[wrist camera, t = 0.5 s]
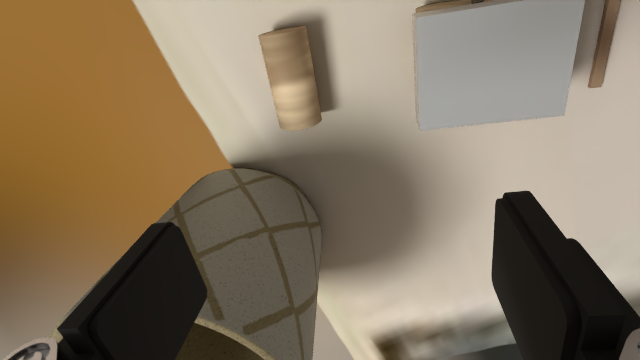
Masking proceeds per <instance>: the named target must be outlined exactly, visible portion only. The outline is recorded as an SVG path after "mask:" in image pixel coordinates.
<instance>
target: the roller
mask: <svg viewBox="0 0 640 360" xmlns="http://www.w3.org/2000/svg"><path fill="white" fill-rule="evenodd" d="M259 40H260V44H261V48H262V52H263V57H264V61H265V65H266V69H267V74H268V78H269V82H270V86H271V91H272V95H273V99H274V104H275V108H276V112H277V116H278V121H279V125H280V128H282V129H284V130H301V129H306V128H309V127H312V126H314V125H316V124H318V123H319V122H320V121H321V120H322V117H321V111H320V105H319V99H318V93H317V88H316V82H315V76H314V70H313V64H312V58H311V53H310V47H309V41H308V35H307V29H306V27H305V26H298V27H291V28H285V29H279V30H274V31H270V32H267V33H264V34H261V35H259Z"/></svg>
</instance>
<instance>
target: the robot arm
mask: <svg viewBox="0 0 640 360" xmlns="http://www.w3.org/2000/svg"><path fill="white" fill-rule="evenodd" d="M492 282H493V286H494V289H495V292H496V294H497V297H498V299H499V301H500V304H501V306H502V309H503V311H504V314H505V316H506V319H507V321H508V323H509V326H510V328H511V331H512V333H513V336H514V338H515V340H516V343H517V345H518V348H519V350H520V353H521V355H522V357H523V360H640V317H639V316H638V314H637V313H636V312H635V311H634V310H633V308H632V307H631V306H630V305H629V303H628V302H627V301H626V300H625V298H624V297H623V296H622V295H621V294H620V292H619V291H618V290H617V289H616V287H615V286H614V285H613V284H612V282H611V281H610V280H609V279H608V278H607V276H606V275H605V274H604V273H603V271H602V270H601V269H600V268H599V266H598V265H597V264H596V263H595V262H594V260H593V259H592V258H591V257H590V255H589V254H588V253H587V252H586V250H585V249H584V248H583V247H582V246H581V244H580V243H579V242H578V241H577V240H575V239H572V238H569V239H567V238H566V237H565V236H564V235H563V233H562V232H561V231H560V229H559V228H558V227H557V226H556V224H555V223H554V222H553V220H552V219H551V218H550V217H549V215H548V214H547V213H546V211H545V210H544V209H543V208H542V206H541V205H540V204H539V202H538V201H537V200H536V199H535V197H534V196H533V195H532V193H531V192H530V191H519V192H508V193H504V195H503V198H501V199H497V200H496V205H495V223H494V241H493V259H492ZM206 298H207V287H206V285H205V283H204V280H203V278H202V276H201V274H200V271H199V269H198V267H197V265H196V262H195V260H194V258H193V256H192V253H191V251H190V249H189V246H188V244H187V242H186V240H185V237H184V235H183V233H182V231H181V229H180V227H178V226H176V225H175V224H174V223H173V222H163V223H154V224H152V225H151V226H150V227H149V228H148V229H147V230H146V231H145V232H144V234H142V236H141V237H140V238H139V239H138V240H137V241H136V242H135V243H134V244H133V245H132V246H131V248H130V249H129V250H128V251H127V252H126V253H125V254H124V255H123V256H122V257H121V259H120V260H119V261H118V262H117V263H116V264H115V265H114V266H113V267H112V268H111V270H110V271H109V272H108V273H107V274H106V275H105V276H104V277H103V278H102V279H101V281H100V282H99V283H98V284H97V285H96V286H95V287H94V288H93V289H92V290H91V292H90V293H89V294H88V295H87V296H86V297H85V298H84V299H83V300H82V302H81V303H80V304H79V305H78V306H77V307H76V308H75V309H74V310H73V311H72V313H71V314H70V315H69V316H68V317H67V318H66V319H65V320H64V321H63V322H62V324H61V325H60V326H59V327H58V328H57V330H58V331H59V333H60V334H61V335H62V337H63V339H62V340H61V341H60V342H59V343H58V342H57V341H56V340H54V339H53V338H40V339H36V340H34V341H31V342H29V343H26V344H25V345H23V346H21V347H19V348H18V349H16V350H15V351H13V352H12V353H10V354H9V355H8V356H7V357H5V358H4V359H3V360H175V359H176V357H177V355H178V353H179V351H180V349H181V347H182V345H183V343H184V341H185V339H186V338H187V336H188V334H189V332H190V330H191V328H192V326H193V324H194V322H195V320H196V318H197V316H198V314H199V312H200V311H201V309H202V307H203V305H204V303H205V301H206Z"/></svg>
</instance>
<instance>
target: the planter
mask: <svg viewBox="0 0 640 360" xmlns="http://www.w3.org/2000/svg"><path fill="white" fill-rule="evenodd" d="M163 222H173V223H174V224H175V225H176V226H178V227H180V229H181V231H182V233H183V235H184V237H185V240H186V242H187V244H188V246H189V249H190V251H191V253H192V256H193V258H194V260H195V262H196V265H197V267H198V269H199V271H200V274H201V276H202V278H203V280H204V283H205V285H206V287H207V298H206V301H205V303H204V305H203V307H202V309H201V311H200V312H199V314H198V316H197V318H196V320H195V322H194V324H193V326H192V328H191V330H190V332H189V334H188V336H187V338H186V339H185V341H184V343H183V345H182V347H181V349H180V351H179V353H178V355H177V357H176V359H175V360H312V356H313V343H314V332H315V331H314V330H315V318H316V305H317V292H318V280H319V268H320V257H321V247H322V233H321V227H320V223H319V220H318V217H317V215H316V213H315V211H314V210H313V208H312V206H311V205H310V204H309V202H308V201H307V199H306V198H305V197H304V195H303V194H302V192H301V190H300V189H299V187H298V186H297V185H296V184H294V183H293V182H291V181H290V180H288V179H285V178H283V177H281V176H278V175H275V174H271V173H268V172H263V171H258V170H252V169H237V168H236V169H226V170H221V171H217V172H214V173H211V174H209V175H206V176H205V177H203V178H201V179H200V180H198V181H197V182H196V183H195V184H194V185H192V186H191V187H190V189H188V190H187V191H186V193H184V194H183V195H182V196H181V198H180V199H179V200H178V201H177V202H176V203H175V204H174V205H173V206H172V207H171V208H170V209H169V210H168V211H167V212H166V213H165V214H164V215H163V216H162V217H161V218H160V219H159V220H158V221H157V222H156V223H163ZM120 259H121V258H120ZM120 259H119V260H120ZM119 260H118V261H119ZM118 261H117V262H118ZM117 262H116V263H117ZM116 263H115V264H116ZM115 264H114V265H115ZM114 265H113V266H114ZM113 266H112V267H113ZM112 267H111V268H112ZM111 268H110V269H109V270H108V271H107V272H106V273H105V274H104V275H103V276H102V277H101V278H100V279H99V280H98V281H97V282H96V284H94V286H93V287H92V288H91V289H90V290H89V291H88V292H87V293H86V294H85V295H84V296H83V297H82V298H81V299H80V300H79V301H78V302H77V303H76V304H75V305H74V306H73V307H72V309H71V310H70V311H69V312H68V313H67V314H66V315H65V316H64V317H63V318H62V319H61V320H60V322H59V323H58V324H57V325H56V327H55V328H54V330H53V332H52V334H51V337H50V338H53V339H54V340H56V341H57V342H58V343H59V342H60V341H61V340H62V339H63V337H62V335H61V334H60V333H59V331H58V330H57V328H58V327H59V326H60V325H61V324H62V322H63V321H64V320H65V319H66V318H67V317H68V316H69V315H70V314H71V313H72V311H73V310H74V309H75V308H76V307H77V306H78V305H79V304H80V303H81V302H82V300H83V299H84V298H85V297H86V296H87V295H88V294H89V293H90V292H91V290H92V289H93V288H94V287H95V286H96V285H97V284H98V283H99V282H100V281H101V279H102V278H103V277H104V276H105V275H106V274H107V273H108V272H109V271H110V270H111Z"/></svg>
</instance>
